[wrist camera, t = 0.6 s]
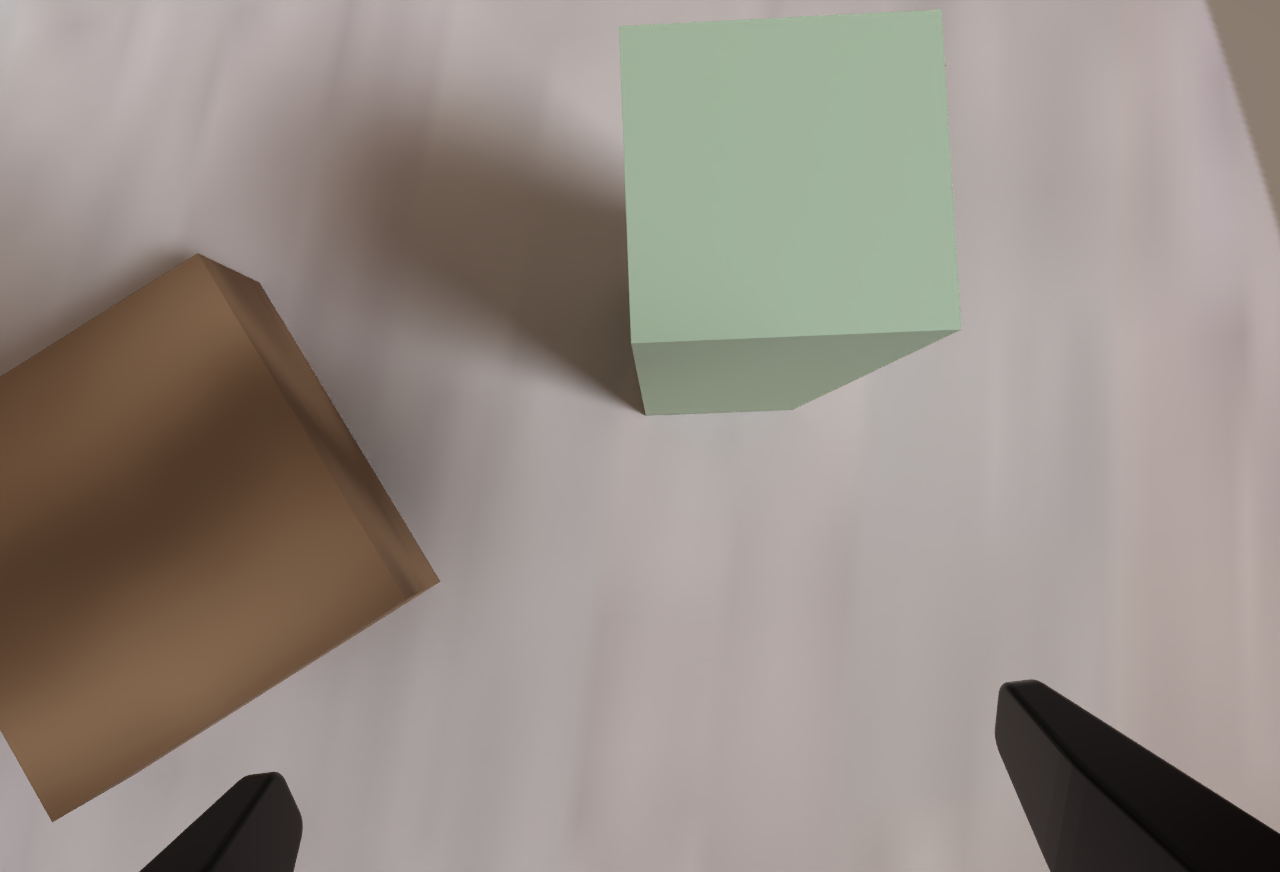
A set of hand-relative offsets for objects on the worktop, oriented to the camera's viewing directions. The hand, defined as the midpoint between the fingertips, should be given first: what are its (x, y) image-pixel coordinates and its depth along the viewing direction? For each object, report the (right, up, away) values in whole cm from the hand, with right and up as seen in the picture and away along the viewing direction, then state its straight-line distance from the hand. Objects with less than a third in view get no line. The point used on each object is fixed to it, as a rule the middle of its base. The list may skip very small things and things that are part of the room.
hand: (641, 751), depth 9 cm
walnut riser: (-14, +1, +14) cm, 20 cm away
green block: (+2, +7, +13) cm, 15 cm away
